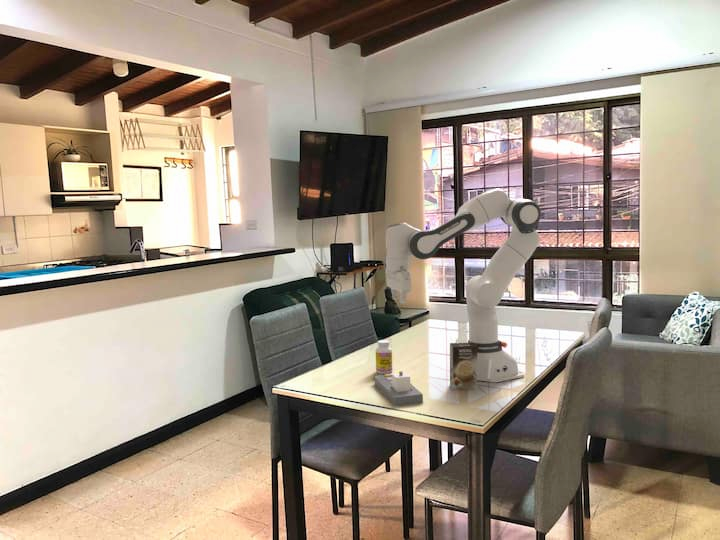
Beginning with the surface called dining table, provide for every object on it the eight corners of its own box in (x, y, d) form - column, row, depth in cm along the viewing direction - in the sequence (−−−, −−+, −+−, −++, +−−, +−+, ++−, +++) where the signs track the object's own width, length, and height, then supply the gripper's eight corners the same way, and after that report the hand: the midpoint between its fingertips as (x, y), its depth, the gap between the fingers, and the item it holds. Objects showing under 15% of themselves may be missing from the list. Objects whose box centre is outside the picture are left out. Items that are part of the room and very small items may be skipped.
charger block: (406, 394, 205) (405, 369, 204) (410, 398, 200) (410, 373, 199) (392, 395, 204) (392, 370, 203) (397, 400, 199) (396, 374, 198)
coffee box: (452, 390, 207) (452, 347, 206) (449, 385, 214) (448, 343, 212) (478, 389, 208) (477, 346, 206) (473, 384, 214) (473, 342, 212)
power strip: (399, 381, 220) (399, 372, 220) (422, 402, 195) (422, 392, 195) (374, 383, 218) (374, 374, 218) (394, 405, 193) (394, 395, 193)
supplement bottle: (378, 375, 229) (377, 343, 228) (374, 370, 236) (373, 340, 234) (394, 373, 231) (393, 342, 230) (389, 369, 238) (388, 338, 236)
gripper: (415, 267, 208) (416, 305, 209) (397, 262, 227) (398, 297, 229) (398, 268, 206) (399, 306, 207) (382, 263, 226) (383, 298, 227)
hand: (399, 301), depth 218 cm, fingers open, 8 cm apart
